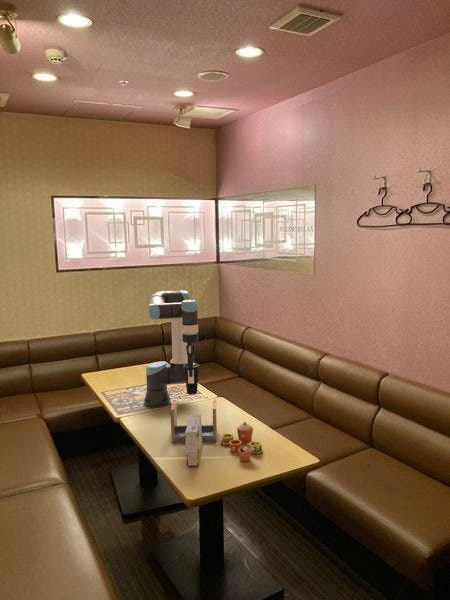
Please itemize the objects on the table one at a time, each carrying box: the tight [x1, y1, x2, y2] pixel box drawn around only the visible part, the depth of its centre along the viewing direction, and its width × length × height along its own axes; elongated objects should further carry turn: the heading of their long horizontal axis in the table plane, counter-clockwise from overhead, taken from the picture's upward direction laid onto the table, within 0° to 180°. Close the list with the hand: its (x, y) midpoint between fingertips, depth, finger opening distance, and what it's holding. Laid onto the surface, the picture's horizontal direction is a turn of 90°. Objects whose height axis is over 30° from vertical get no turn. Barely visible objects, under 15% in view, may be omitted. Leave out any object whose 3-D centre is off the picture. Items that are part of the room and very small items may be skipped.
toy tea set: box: [219, 421, 263, 462], centre depth 216 cm, size 26×16×10 cm, turn 22°
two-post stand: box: [170, 398, 218, 444], centre depth 230 cm, size 13×21×16 cm, turn 91°
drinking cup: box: [183, 362, 200, 395], centre depth 228 cm, size 8×8×20 cm
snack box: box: [185, 413, 204, 467], centre depth 210 cm, size 21×6×15 cm, turn 178°
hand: (191, 380), depth 228 cm, fingers closed on drinking cup, 6 cm apart
